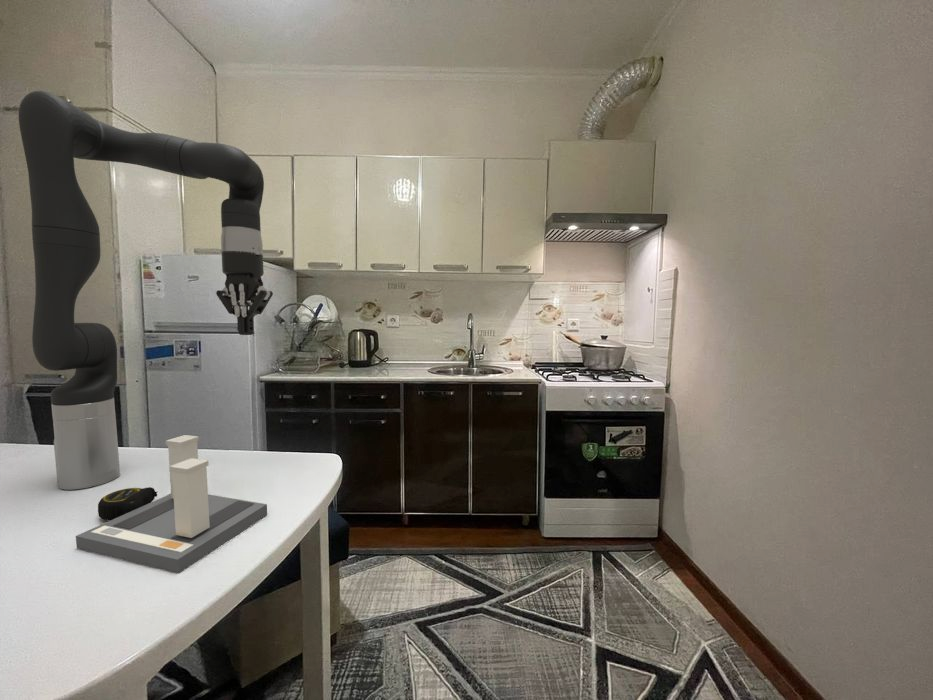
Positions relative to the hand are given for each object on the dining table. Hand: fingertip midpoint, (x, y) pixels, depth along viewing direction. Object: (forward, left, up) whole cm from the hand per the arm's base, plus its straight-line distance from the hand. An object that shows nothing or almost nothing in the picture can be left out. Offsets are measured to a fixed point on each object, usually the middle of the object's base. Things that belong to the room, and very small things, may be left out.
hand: (246, 334), depth 82 cm
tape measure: (-8, -19, -31) cm, 38 cm away
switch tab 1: (0, -15, -29) cm, 32 cm away
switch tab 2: (+12, -23, -29) cm, 39 cm away
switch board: (+6, -21, -31) cm, 38 cm away
